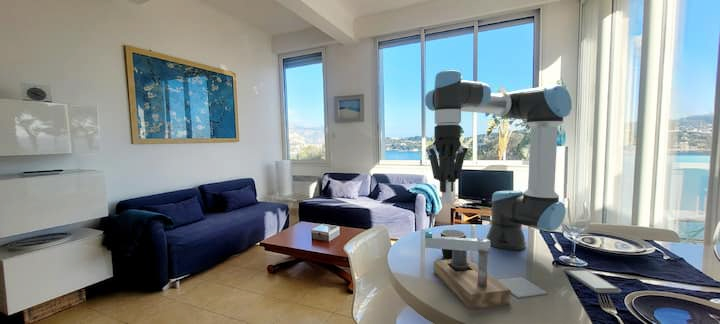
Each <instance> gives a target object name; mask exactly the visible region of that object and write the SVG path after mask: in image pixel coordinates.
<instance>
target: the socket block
mask: <svg viewBox="0 0 720 324" xmlns="http://www.w3.org/2000/svg"><path fill="white" fill-rule="evenodd" d="M488 254H489V253H480V252H478V260H477V264H478V265H477V264H476V263H474V262H473V261H471V260H470V259H469V258H467V262H468V268H467V271H458V272H456V271H455V270H453V269H452V266H451V261H452V259H447V260H445V259H439V260H434V261H433V273H435V275H436V276H437V277H439V279H441V281H442V282H443V283H444V284H445V285H446V286H447V287H449V289H451V290H452V292H453V293H454V294H456V296H458V298H460V299H461V301H462V302H463V303H464V304H465V305H466V306H467V307H469V309H470V310H472V309H474V310H475V309H480V308H481V309H482V308H488V307H489V308H490V307H495V306H497V307H498V306H502V305H509V304H511V295H512V294H511V290H510V289H509V288H508V287H506V286H505V285H503V284H502V283H501V282H499V281H498V280H499V279H497V278H495V277H494V276H492V275H491V274H489V273H488V260H489V257H488V256H489V255H488Z"/></svg>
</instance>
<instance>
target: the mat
mask: <svg viewBox="0 0 720 324" xmlns="http://www.w3.org/2000/svg"><path fill="white" fill-rule="evenodd" d="M497 280H498V281H499V282H501V283H502V284H503V285H505V286H506V287H508V288H509V289H510V290H511V294H510V295H512V296H514V297H515V298H517V299H522V298H528V297H537V296H542V295H543V296H544V295H548V292H547V291H545V290H543V289H542V288H540V287H539V286H537V285H536V284H534V283H532V282H531V281H529V280H527V279H526V278H524V277H522V276H518V277H510V278H501V279H500V278H499V279H497Z"/></svg>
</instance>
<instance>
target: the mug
mask: <svg viewBox="0 0 720 324" xmlns="http://www.w3.org/2000/svg"><path fill="white" fill-rule="evenodd" d="M440 236H442V237H457V238H467V234H466V232H464V231H462V230H460V229H459V230H458V229H452V228H451V229H450V228H449V229H444V230H443V229H442V230H441V231H440ZM441 252H442V257H443V260H447V259H452V250H449V249H441Z"/></svg>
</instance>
